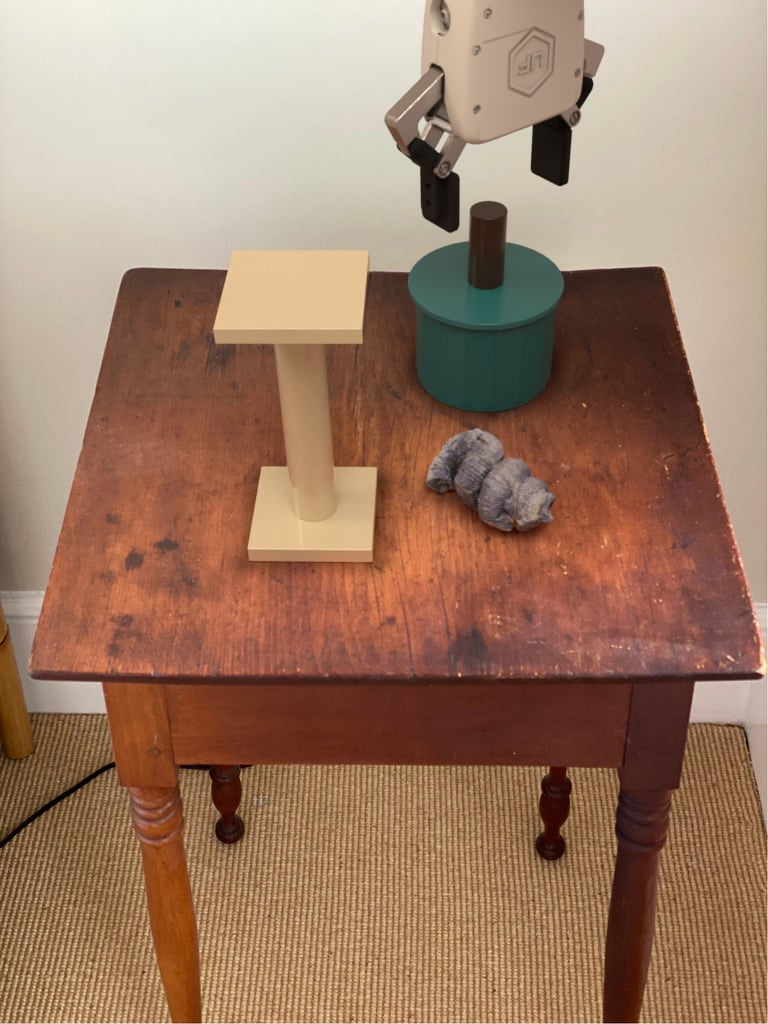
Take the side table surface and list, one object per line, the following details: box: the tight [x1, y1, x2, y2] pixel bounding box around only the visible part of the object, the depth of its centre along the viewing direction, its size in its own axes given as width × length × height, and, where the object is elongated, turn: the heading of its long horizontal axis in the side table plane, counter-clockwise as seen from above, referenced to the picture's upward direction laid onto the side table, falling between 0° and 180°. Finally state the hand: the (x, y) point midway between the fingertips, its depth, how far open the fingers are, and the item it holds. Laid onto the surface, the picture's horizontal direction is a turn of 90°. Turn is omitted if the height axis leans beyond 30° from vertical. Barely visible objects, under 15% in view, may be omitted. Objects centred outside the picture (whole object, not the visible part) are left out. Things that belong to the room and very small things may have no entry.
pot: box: [414, 304, 558, 413], centre depth 84 cm, size 10×10×8 cm
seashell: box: [424, 427, 556, 532], centre depth 74 cm, size 5×5×10 cm
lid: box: [407, 200, 565, 330], centre depth 80 cm, size 11×11×7 cm
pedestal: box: [212, 249, 379, 563], centre depth 69 cm, size 8×8×18 cm
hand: (496, 201), depth 77 cm, fingers open, 9 cm apart
